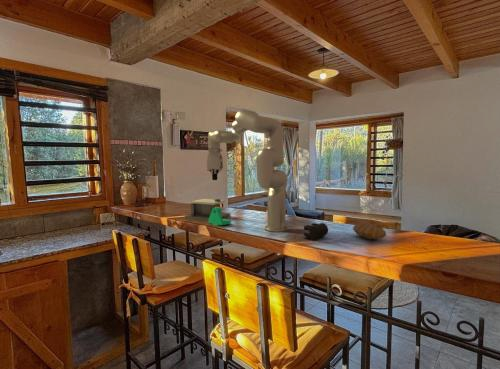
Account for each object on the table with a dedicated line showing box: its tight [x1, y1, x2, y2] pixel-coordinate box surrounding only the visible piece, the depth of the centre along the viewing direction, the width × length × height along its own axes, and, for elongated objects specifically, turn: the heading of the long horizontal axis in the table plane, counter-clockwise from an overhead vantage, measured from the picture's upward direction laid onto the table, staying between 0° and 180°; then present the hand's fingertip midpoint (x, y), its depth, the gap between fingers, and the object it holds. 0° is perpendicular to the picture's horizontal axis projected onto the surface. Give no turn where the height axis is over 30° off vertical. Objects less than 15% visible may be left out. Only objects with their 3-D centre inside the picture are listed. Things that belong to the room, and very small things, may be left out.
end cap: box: [303, 222, 329, 241], centre depth 130 cm, size 10×7×7 cm
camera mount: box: [207, 206, 232, 227], centre depth 162 cm, size 12×8×10 cm, turn 46°
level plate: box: [190, 198, 226, 206], centre depth 182 cm, size 17×14×2 cm
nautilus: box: [352, 220, 387, 241], centre depth 131 cm, size 8×22×15 cm
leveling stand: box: [184, 202, 231, 222], centre depth 183 cm, size 22×20×10 cm
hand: (214, 180), depth 180 cm, fingers closed
